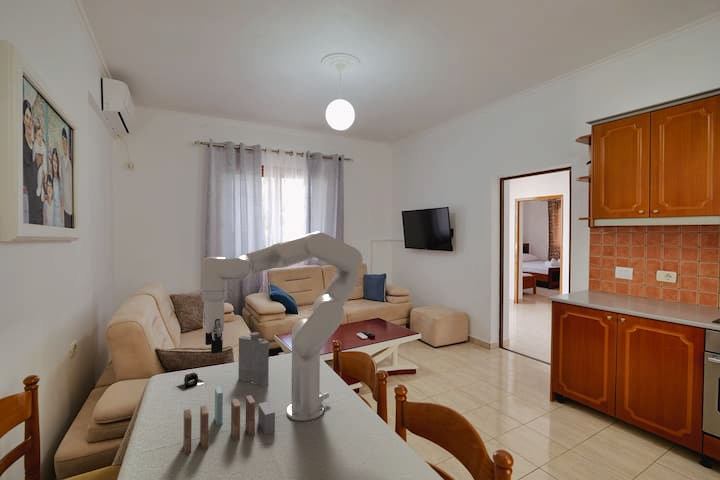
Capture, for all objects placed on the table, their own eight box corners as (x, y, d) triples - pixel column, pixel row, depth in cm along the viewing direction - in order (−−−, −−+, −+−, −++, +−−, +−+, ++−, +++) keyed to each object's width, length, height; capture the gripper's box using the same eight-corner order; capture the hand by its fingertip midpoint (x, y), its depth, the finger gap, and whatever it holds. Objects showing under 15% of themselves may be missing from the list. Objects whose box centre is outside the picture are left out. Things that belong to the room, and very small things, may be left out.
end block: (267, 419, 111) (267, 401, 111) (274, 431, 104) (275, 412, 104) (258, 422, 109) (258, 403, 109) (265, 434, 102) (265, 414, 102)
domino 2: (206, 439, 100) (206, 405, 100) (208, 448, 96) (208, 412, 96) (200, 440, 99) (200, 406, 99) (202, 449, 95) (202, 414, 95)
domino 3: (219, 416, 112) (220, 386, 112) (222, 423, 108) (222, 392, 108) (214, 418, 112) (215, 387, 112) (217, 425, 107) (217, 393, 107)
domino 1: (189, 443, 98) (190, 408, 98) (191, 452, 93) (191, 416, 93) (183, 445, 97) (183, 410, 97) (184, 454, 93) (185, 418, 93)
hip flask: (236, 379, 143) (237, 331, 143) (244, 375, 146) (244, 329, 146) (264, 387, 135) (264, 337, 135) (271, 383, 138) (272, 334, 138)
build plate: (178, 393, 130) (179, 381, 130) (170, 388, 135) (171, 376, 135) (210, 383, 140) (210, 372, 140) (201, 378, 144) (202, 367, 144)
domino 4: (236, 430, 104) (236, 398, 104) (239, 439, 100) (240, 405, 100) (231, 432, 104) (231, 399, 104) (234, 440, 99) (234, 406, 99)
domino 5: (250, 426, 107) (251, 395, 107) (254, 434, 102) (254, 401, 102) (245, 428, 106) (245, 396, 106) (249, 436, 102) (249, 403, 101)
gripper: (197, 292, 114) (196, 343, 114) (207, 300, 100) (205, 358, 100) (221, 290, 118) (220, 339, 118) (233, 298, 104) (232, 354, 104)
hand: (213, 348), depth 109 cm, fingers open, 9 cm apart
